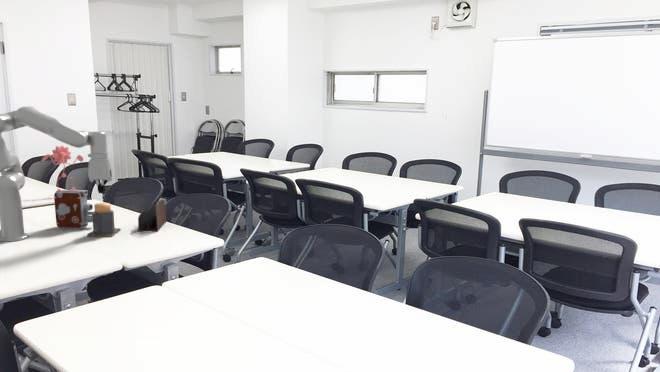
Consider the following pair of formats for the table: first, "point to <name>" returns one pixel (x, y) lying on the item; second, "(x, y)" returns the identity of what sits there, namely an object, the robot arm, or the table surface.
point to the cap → (102, 208)
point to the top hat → (103, 225)
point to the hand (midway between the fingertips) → (101, 192)
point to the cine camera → (72, 209)
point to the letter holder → (152, 218)
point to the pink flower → (62, 159)
